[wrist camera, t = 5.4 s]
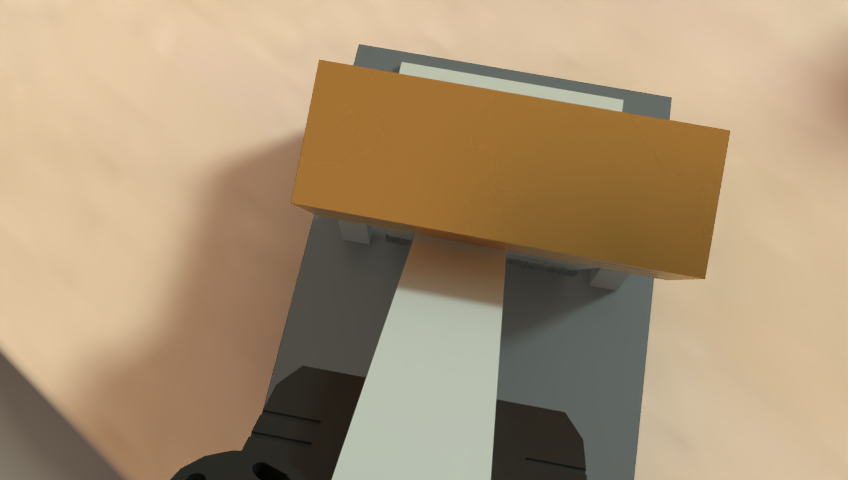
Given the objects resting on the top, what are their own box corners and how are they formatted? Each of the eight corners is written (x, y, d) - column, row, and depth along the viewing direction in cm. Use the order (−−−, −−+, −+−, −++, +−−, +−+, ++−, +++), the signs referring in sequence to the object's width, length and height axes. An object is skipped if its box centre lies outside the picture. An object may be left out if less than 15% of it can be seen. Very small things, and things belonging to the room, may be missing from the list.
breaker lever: (576, 281, 22) (704, 278, 10) (381, 245, 23) (290, 203, 11) (589, 212, 22) (730, 130, 11) (395, 177, 23) (319, 59, 11)
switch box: (599, 498, 24) (660, 487, 18) (284, 435, 25) (241, 403, 19) (638, 154, 28) (697, 51, 22) (366, 107, 29) (353, -6, 23)
